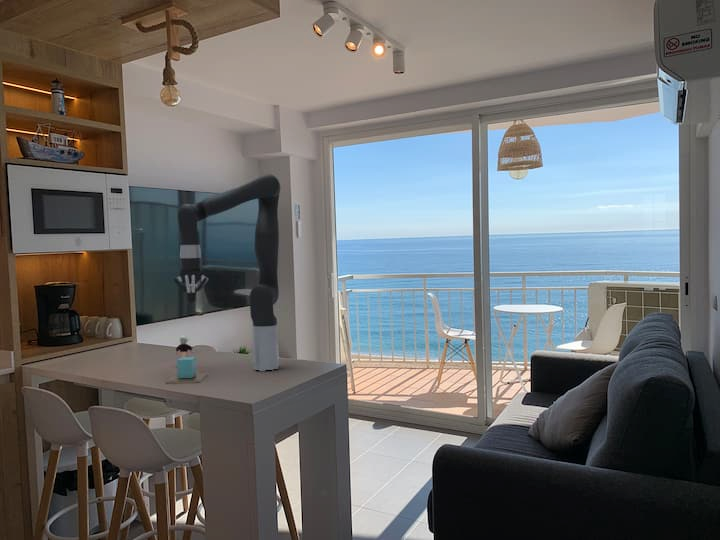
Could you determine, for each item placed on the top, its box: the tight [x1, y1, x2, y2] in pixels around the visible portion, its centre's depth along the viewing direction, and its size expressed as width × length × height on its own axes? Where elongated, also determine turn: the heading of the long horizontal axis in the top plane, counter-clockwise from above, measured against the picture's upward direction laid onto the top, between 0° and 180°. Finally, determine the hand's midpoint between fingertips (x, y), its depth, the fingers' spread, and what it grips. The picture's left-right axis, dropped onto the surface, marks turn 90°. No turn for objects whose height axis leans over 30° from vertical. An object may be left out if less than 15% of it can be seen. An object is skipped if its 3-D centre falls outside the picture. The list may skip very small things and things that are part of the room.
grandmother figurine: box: [174, 335, 195, 359], centre depth 214 cm, size 8×4×13 cm, turn 105°
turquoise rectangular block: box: [176, 356, 197, 378], centre depth 192 cm, size 5×5×7 cm
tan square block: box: [165, 372, 209, 384], centre depth 192 cm, size 12×12×7 cm
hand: (192, 302), depth 201 cm, fingers closed
